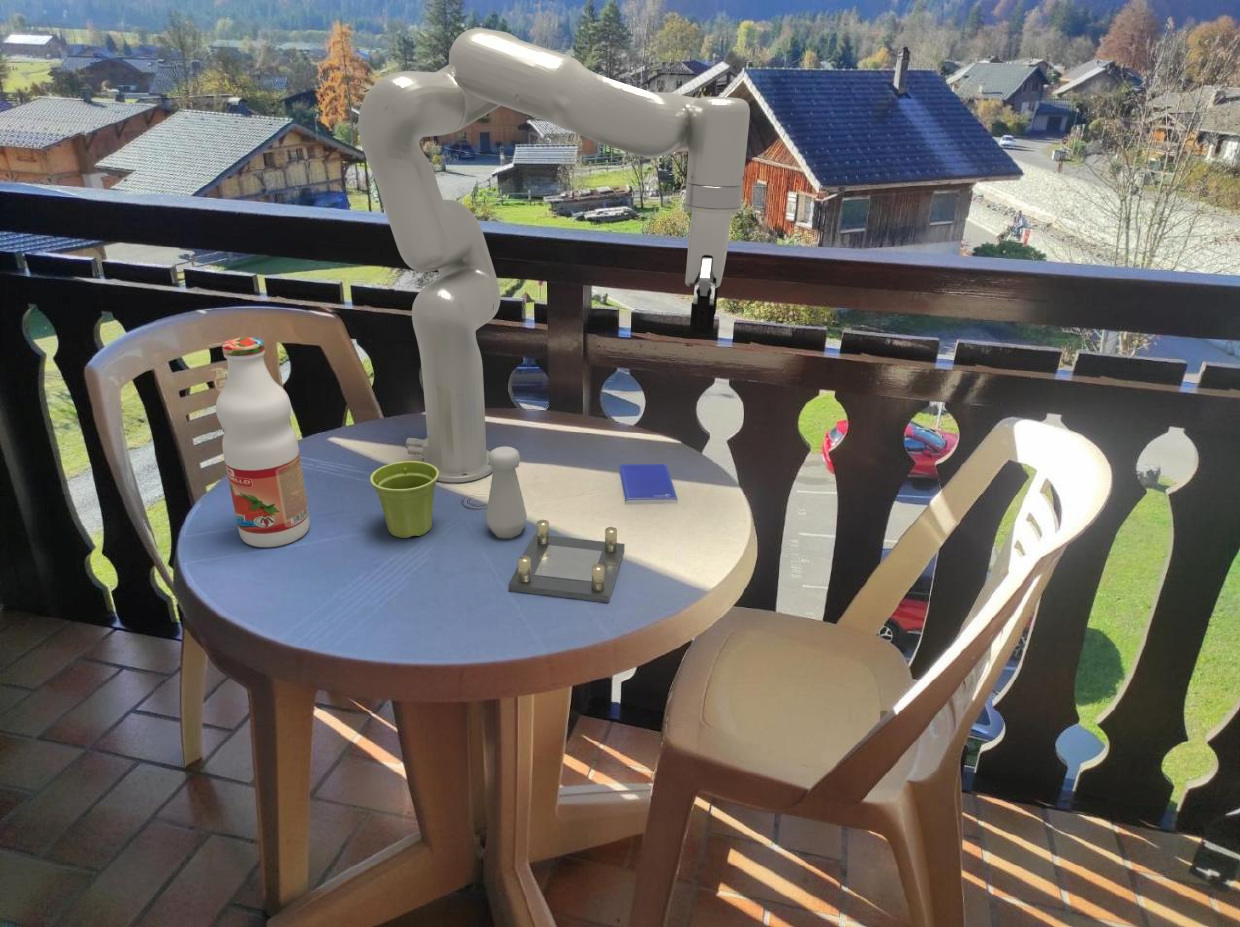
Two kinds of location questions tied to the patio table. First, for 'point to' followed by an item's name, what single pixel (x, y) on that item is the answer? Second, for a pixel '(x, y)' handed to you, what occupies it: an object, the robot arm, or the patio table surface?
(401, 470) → the plant pot
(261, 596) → the patio table surface
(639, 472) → the hard drive
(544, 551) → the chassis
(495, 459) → the salt shaker
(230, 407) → the fruit juice
